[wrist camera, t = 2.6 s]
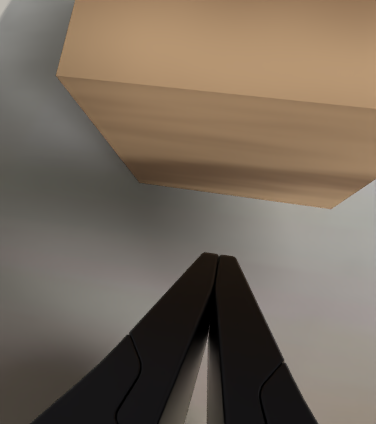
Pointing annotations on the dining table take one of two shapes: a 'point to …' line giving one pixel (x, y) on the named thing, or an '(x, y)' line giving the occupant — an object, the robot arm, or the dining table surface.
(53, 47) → the dining table surface
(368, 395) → the dining table surface
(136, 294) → the dining table surface
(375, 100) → the light brown wooden block
